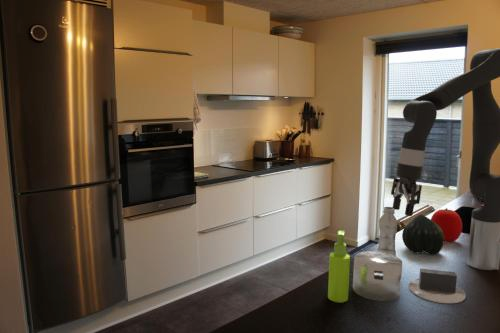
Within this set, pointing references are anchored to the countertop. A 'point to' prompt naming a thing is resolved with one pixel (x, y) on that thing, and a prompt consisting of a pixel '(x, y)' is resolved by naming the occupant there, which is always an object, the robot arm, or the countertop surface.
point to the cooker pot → (377, 275)
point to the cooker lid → (437, 286)
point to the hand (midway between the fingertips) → (401, 212)
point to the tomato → (448, 224)
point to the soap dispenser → (339, 271)
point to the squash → (423, 236)
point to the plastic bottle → (387, 231)
